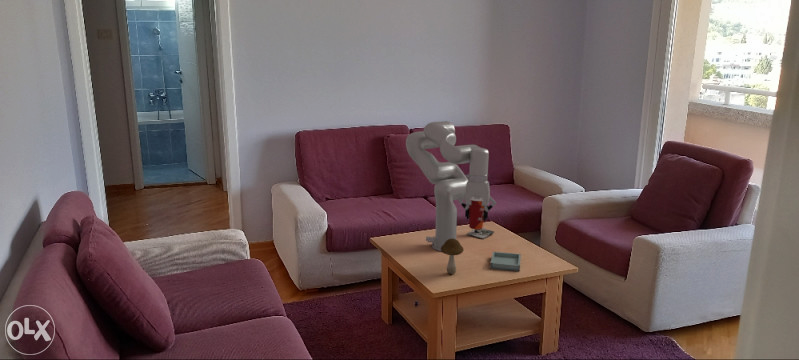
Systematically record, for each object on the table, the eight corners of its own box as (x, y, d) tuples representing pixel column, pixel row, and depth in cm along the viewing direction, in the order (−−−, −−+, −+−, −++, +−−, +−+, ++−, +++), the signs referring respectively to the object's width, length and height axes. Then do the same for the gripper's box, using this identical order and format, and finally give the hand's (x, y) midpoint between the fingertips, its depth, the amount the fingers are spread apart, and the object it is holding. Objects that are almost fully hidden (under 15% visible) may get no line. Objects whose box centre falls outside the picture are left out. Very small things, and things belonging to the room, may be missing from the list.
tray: (490, 268, 244) (490, 263, 243) (492, 256, 257) (492, 251, 256) (519, 271, 241) (519, 265, 240) (520, 259, 254) (520, 253, 254)
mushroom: (462, 268, 244) (463, 234, 240) (462, 279, 233) (464, 243, 229) (440, 267, 244) (441, 233, 241) (439, 278, 233) (440, 242, 230)
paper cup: (484, 230, 243) (486, 198, 240) (466, 229, 244) (467, 197, 241) (485, 225, 250) (487, 193, 247) (467, 223, 252) (469, 192, 248)
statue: (483, 241, 280) (483, 213, 275) (466, 237, 285) (466, 209, 280) (494, 233, 288) (494, 205, 282) (478, 229, 293) (478, 201, 288)
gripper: (456, 178, 241) (454, 220, 245) (498, 181, 237) (496, 223, 241) (458, 174, 248) (457, 214, 252) (500, 177, 244) (497, 218, 248)
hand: (476, 218), depth 247 cm, fingers closed on paper cup, 6 cm apart
